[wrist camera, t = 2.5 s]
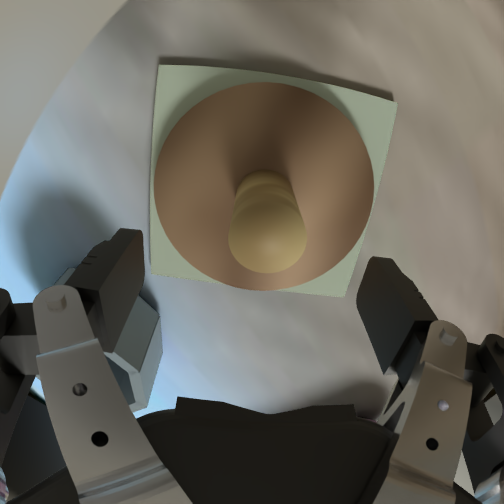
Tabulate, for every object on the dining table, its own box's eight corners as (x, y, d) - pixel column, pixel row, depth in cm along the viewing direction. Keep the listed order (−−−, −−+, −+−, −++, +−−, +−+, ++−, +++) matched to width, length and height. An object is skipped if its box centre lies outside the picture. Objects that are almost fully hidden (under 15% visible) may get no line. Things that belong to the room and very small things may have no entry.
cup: (160, 277, 21) (133, 338, 15) (166, 369, 25) (151, 426, 20) (43, 257, 20) (0, 304, 15) (68, 347, 25) (43, 394, 20)
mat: (394, 102, 15) (397, 103, 14) (342, 292, 21) (343, 297, 21) (161, 65, 14) (158, 64, 14) (153, 270, 20) (151, 274, 20)
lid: (388, 109, 15) (446, 122, 9) (339, 290, 20) (360, 356, 15) (167, 73, 14) (121, 67, 9) (158, 268, 20) (129, 331, 14)
